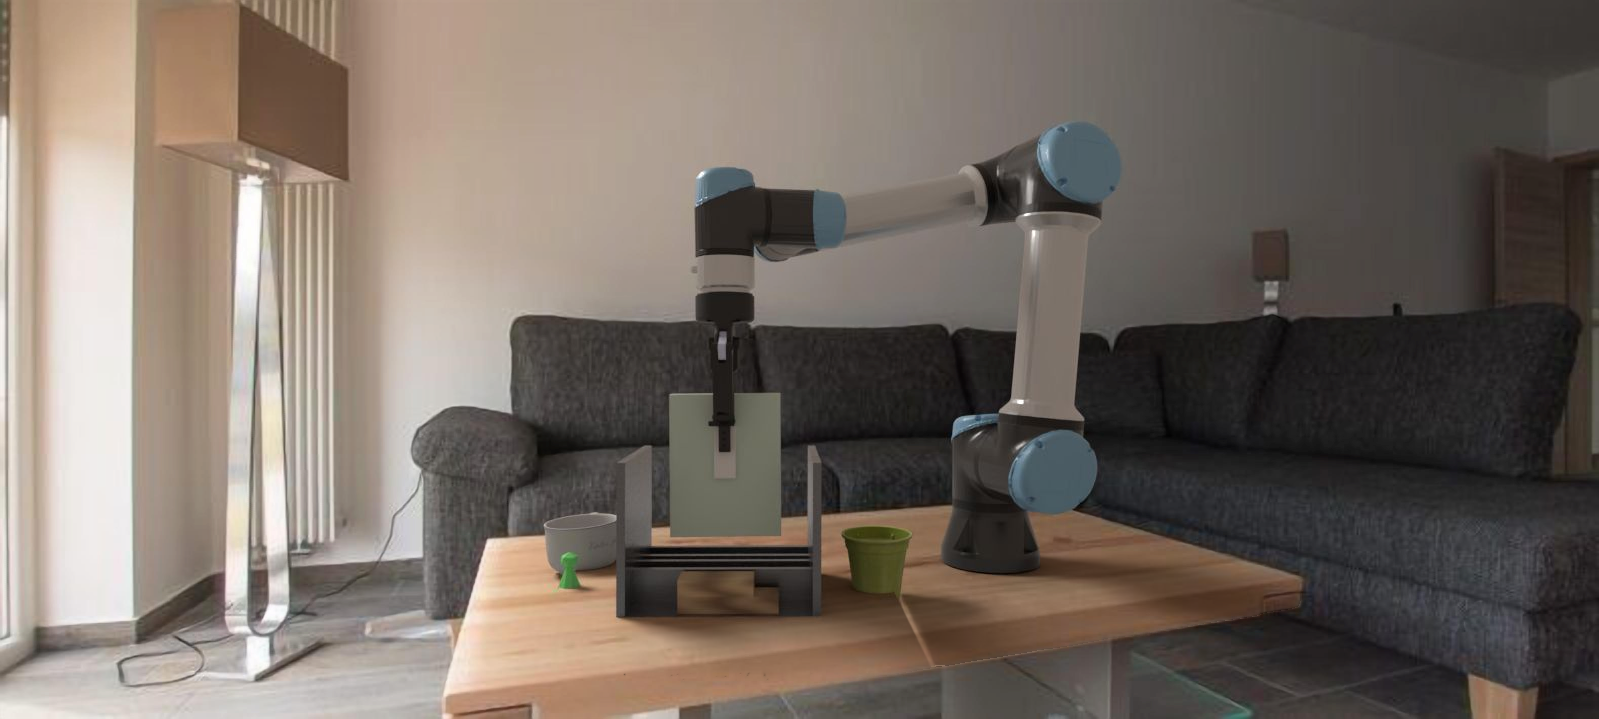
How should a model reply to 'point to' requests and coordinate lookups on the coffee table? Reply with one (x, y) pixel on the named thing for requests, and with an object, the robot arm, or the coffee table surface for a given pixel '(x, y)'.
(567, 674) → the coffee table surface
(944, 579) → the coffee table surface
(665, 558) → the rack
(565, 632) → the coffee table surface
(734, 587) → the offcut upper
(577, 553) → the teacup
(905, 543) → the plant pot
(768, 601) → the offcut lower
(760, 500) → the sage panel
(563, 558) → the game piece
